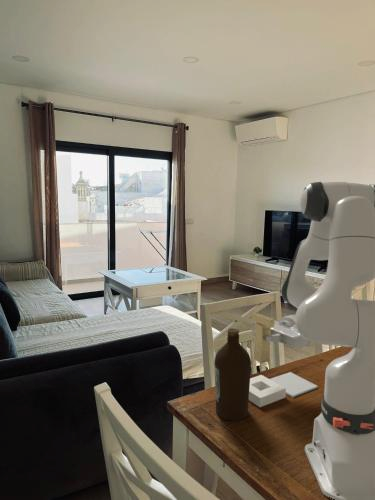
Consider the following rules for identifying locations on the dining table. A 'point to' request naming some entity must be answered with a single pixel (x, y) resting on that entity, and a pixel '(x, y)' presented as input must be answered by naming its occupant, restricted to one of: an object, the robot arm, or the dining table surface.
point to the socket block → (265, 391)
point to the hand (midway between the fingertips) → (260, 336)
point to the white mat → (294, 384)
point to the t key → (262, 337)
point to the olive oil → (232, 378)
